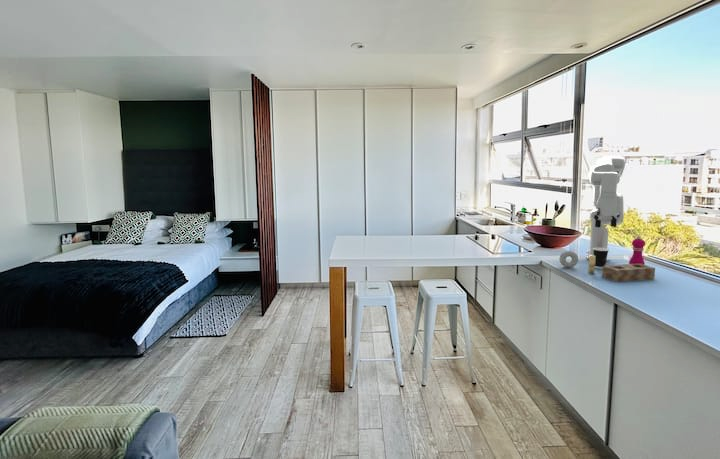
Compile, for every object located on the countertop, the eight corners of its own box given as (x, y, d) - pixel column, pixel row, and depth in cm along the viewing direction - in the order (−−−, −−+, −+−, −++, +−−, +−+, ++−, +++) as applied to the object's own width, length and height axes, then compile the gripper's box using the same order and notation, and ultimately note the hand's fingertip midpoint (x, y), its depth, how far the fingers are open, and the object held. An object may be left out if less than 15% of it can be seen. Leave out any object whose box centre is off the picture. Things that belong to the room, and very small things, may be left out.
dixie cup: (608, 269, 235) (609, 250, 233) (592, 268, 238) (593, 249, 237) (606, 266, 242) (607, 247, 241) (590, 265, 246) (592, 247, 244)
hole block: (616, 281, 212) (617, 270, 211) (602, 276, 222) (602, 265, 221) (654, 279, 216) (655, 267, 215) (638, 274, 225) (639, 263, 224)
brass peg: (586, 272, 230) (588, 255, 228) (591, 272, 230) (593, 254, 229) (590, 274, 227) (592, 256, 225) (595, 273, 227) (596, 256, 226)
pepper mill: (646, 273, 226) (649, 237, 223) (631, 272, 228) (634, 237, 225) (640, 269, 233) (643, 234, 230) (626, 269, 235) (629, 234, 232)
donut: (576, 267, 242) (578, 250, 241) (578, 268, 239) (579, 251, 237) (558, 266, 245) (559, 249, 243) (559, 267, 241) (560, 251, 240)
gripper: (616, 194, 229) (614, 225, 231) (588, 195, 226) (586, 226, 228) (627, 195, 222) (624, 227, 224) (599, 195, 218) (596, 228, 221)
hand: (605, 226), depth 226 cm, fingers open, 9 cm apart
